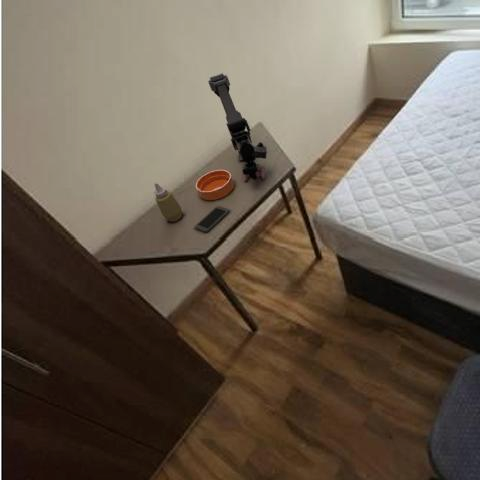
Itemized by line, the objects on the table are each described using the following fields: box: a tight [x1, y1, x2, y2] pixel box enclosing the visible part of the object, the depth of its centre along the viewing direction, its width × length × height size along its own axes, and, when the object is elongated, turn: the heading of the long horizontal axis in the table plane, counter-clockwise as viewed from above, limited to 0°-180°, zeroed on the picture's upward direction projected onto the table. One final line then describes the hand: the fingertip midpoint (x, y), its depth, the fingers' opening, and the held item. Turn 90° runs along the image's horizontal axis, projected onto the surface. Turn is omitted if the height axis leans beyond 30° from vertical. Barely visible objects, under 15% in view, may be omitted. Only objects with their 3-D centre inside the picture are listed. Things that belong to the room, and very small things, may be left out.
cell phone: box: [194, 206, 230, 233], centre depth 163 cm, size 7×14×1 cm, turn 146°
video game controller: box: [243, 163, 266, 182], centre depth 178 cm, size 10×5×7 cm, turn 84°
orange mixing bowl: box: [195, 169, 235, 201], centre depth 177 cm, size 16×16×5 cm
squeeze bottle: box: [154, 182, 183, 223], centre depth 163 cm, size 8×8×18 cm
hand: (255, 175), depth 179 cm, fingers closed on video game controller, 6 cm apart
